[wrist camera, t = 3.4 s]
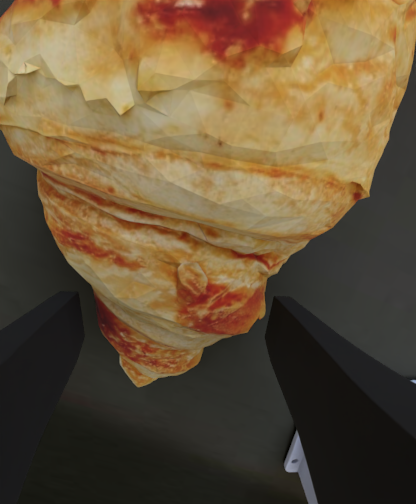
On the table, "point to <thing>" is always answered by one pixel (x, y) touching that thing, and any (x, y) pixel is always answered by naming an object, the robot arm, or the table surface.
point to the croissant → (196, 147)
